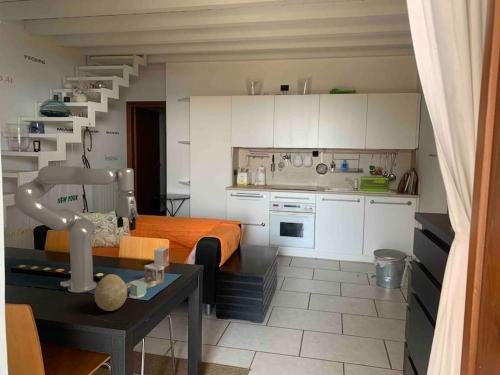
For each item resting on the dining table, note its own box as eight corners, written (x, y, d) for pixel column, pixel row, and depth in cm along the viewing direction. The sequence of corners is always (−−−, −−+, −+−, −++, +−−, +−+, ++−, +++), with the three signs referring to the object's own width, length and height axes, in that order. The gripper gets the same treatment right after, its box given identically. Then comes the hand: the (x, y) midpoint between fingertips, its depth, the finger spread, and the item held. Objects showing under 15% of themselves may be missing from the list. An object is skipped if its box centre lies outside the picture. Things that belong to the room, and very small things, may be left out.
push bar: (143, 286, 178) (143, 281, 177) (139, 284, 180) (139, 279, 179) (162, 279, 187) (162, 275, 187) (158, 278, 189) (158, 273, 189)
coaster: (130, 299, 161) (130, 297, 161) (127, 293, 167) (127, 292, 167) (146, 296, 164) (146, 295, 164) (143, 291, 170) (143, 290, 170)
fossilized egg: (133, 304, 156) (132, 270, 154) (117, 317, 143) (116, 281, 142) (105, 302, 158) (105, 268, 156) (88, 314, 145) (87, 278, 144)
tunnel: (132, 293, 167) (132, 276, 167) (121, 288, 173) (121, 272, 172) (164, 282, 182) (163, 266, 181) (152, 278, 187) (152, 263, 187)
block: (137, 296, 162) (137, 286, 162) (130, 294, 165) (130, 283, 165) (146, 293, 166) (146, 282, 166) (139, 290, 169) (139, 280, 169)
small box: (163, 269, 202) (163, 251, 201) (154, 268, 203) (153, 250, 202) (169, 265, 210) (169, 247, 209) (160, 264, 211) (160, 246, 210)
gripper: (143, 194, 171) (144, 229, 173) (121, 191, 181) (122, 225, 183) (130, 195, 165) (130, 232, 167) (108, 192, 175) (109, 227, 177)
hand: (126, 228), depth 175 cm, fingers open, 9 cm apart
